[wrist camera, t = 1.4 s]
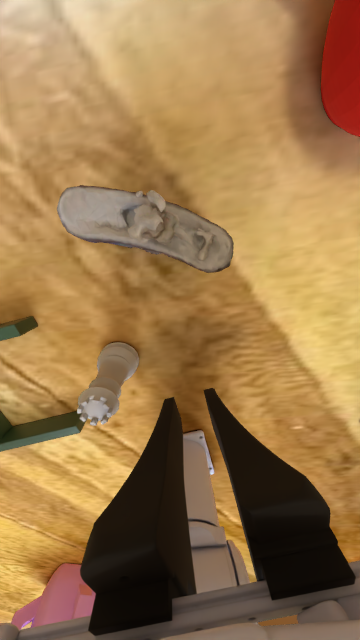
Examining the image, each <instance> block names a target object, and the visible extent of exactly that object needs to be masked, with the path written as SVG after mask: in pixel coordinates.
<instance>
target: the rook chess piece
mask: <svg viewBox="0 0 360 640" xmlns="http://www.w3.org/2000/svg"><path fill="white" fill-rule="evenodd" d="M138 364H139V357H138V353H137V352H136V351H135V350H134V348H133V347H131V346H129V345H128V344H125V343H120V342H116V343H110V344H109V345H107V346H105V347H104V348H103V350H102V351H101V353H100V355H99V357H98V362H97V367H98V374H97V377H96V379H95V380H93V381H92V382H91V383H90V385H89V388H88V389H86V390H85V391H83V392H82V393H81V394H80V396H79V397H78V405H79V407H78V408H77V413H82V414H81V416H80V419H81V420H82V421H83V422H85V421H86V419H87V418H89V419H91V423H90V425H97V422H98V421H99V420H101V423H102V424H104V423H106V422H107V421H108V419H109V418H111V416H112V415H114V414H115V413H116V412H117V410H118V409H119V400H118V398H119V396H120V395H121V386H122V384H123V383H124V381H126V380H127V379H129V378H130V377H131V376H132V375H133V374H134V373H135V371H136V369H137V367H138Z"/></svg>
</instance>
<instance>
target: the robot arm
mask: <svg viewBox="0 0 360 640" xmlns="http://www.w3.org/2000/svg"><path fill="white" fill-rule="evenodd" d="M204 394H205V398H206V402H207V406H208V410H209V414H210V418H211V421H212V425H213V429H214V432H215V435H216V438H217V441H218V444H219V446H220V449H221V452H222V455H223V458H224V461H225V464H226V467H227V470H228V473H229V477H230V481H231V485H232V488H233V492H234V496H235V499H236V503H237V507H238V511H239V514H240V518H241V522H242V526H243V530H244V533H245V537H246V541H247V545H248V548H249V552H250V556H251V560H252V563H253V567H254V571H255V575H256V579H257V582H253V583H250V581H249V577H248V573H247V570H246V566H245V563H244V560H243V558H242V555H241V553H240V551H239V549H238V548H237V547H236V546H235V544H234V542H233V541H232V540H226V537H225V532H224V527H220V526H219V521H218V516H217V510H216V505H215V499H214V494H213V489H212V483H211V478H210V475H211V474H214V468H213V465H212V461H211V458H210V454H209V451H208V447H207V444H206V440H205V437H204V433H203V431H202V430H198V431H194V432H189V433H185V434H183V430H182V422H181V417H180V414H179V411H178V408H177V405H176V402H175V399H174V397H172V398H168V399H165V400H164V403H163V406H162V409H161V412H160V415H159V418H158V420H157V423H156V426H155V428H154V430H153V433H152V435H151V437H150V439H149V441H148V444H147V446H146V448H145V450H144V451H143V453H142V455H141V457H140V459H139V461H138V462H137V464H136V466H135V467H134V469H133V471H132V472H131V474H130V475H129V477H128V479H127V480H126V482H125V483H124V484H123V486H122V487H121V489H120V490H119V492H118V493H117V495H116V496H115V497H114V499H113V500H112V501H111V503H110V504H109V505H108V506H107V508H106V509H105V510H104V512H103V513H102V514H101V515H100V517H99V518H98V519H97V520H96V522H95V523H94V526H93V529H92V532H91V534H90V537H89V540H88V543H87V547H86V551H85V554H84V558H83V561H82V565H81V568H80V576H81V578H82V580H83V581H84V582H85V583H86V584H87V585H88V586H89V587H90V588H91V589H92V590H93V591H94V592H95V593H96V595H95V600H94V605H93V609H92V614H91V616H86V617H81V618H76V619H71V620H66V621H61V622H56V623H51V624H46V625H42V626H37V627H32V628H27V629H22V630H19V628H18V627H17V626H15V625H14V624H11V623H0V640H360V561H356V562H351V563H348V562H347V560H346V559H345V557H344V555H343V553H342V552H341V550H340V548H339V546H338V545H337V544H338V541H337V539H336V537H335V535H334V534H333V532H332V530H331V528H330V527H329V524H330V508H329V507H328V505H327V503H326V502H325V500H324V499H323V497H322V496H321V495H320V493H319V492H318V491H317V489H316V488H315V487H314V486H313V485H312V483H311V482H310V481H309V480H308V479H307V478H306V476H304V475H303V474H302V473H300V472H299V471H297V470H296V469H294V468H293V467H291V466H290V465H288V464H287V463H286V462H284V461H283V460H282V459H280V458H279V457H278V456H276V455H275V454H274V453H272V452H271V451H270V450H269V449H268V448H266V447H265V446H264V445H263V444H261V443H260V442H259V441H258V440H257V439H256V438H255V437H254V436H252V435H251V434H250V433H249V432H248V431H247V430H246V429H245V428H244V427H243V426H242V425H241V424H240V423H239V422H238V420H237V419H236V418H235V417H234V416H233V415H232V414H231V413H230V411H229V410H228V409H227V408H226V406H225V405H224V404H223V402H222V401H221V399H220V398H219V397H218V395H217V393H216V391H215V389H214V388H210V389H205V390H204ZM297 614H298V616H297V620H298V623H299V624H287V625H273V626H260V625H259V624H258V622H261V621H266V620H272V619H276V618H282V617H287V616H292V615H297Z"/></svg>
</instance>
